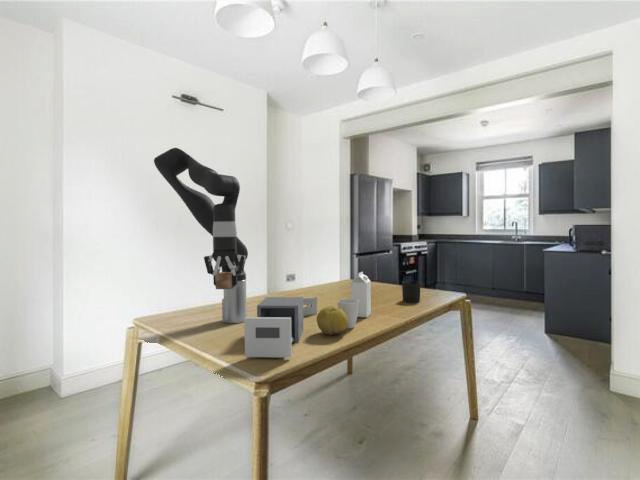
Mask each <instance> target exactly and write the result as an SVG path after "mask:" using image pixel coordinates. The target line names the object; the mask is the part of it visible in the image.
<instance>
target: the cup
mask: <svg viewBox="0 0 640 480" xmlns="http://www.w3.org/2000/svg"><path fill="white" fill-rule="evenodd" d="M337 308H340V309H342V310H343V311H344V313H345V314H346V315H347V317H348V326H347V327H346V329H354V328H355V326H356V323H357V321H358V320H357V319H358V317H357V314H358V300H354V299H351V298H343V299H338V300H337Z"/></svg>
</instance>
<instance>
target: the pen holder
mask: <svg viewBox="0 0 640 480" xmlns="http://www.w3.org/2000/svg"><path fill="white" fill-rule="evenodd" d="M401 291H402V301H403V302H404V303H419V302H420V301H421V281H419V280H411V281H408V282H407V281H404V280H403V281H401Z"/></svg>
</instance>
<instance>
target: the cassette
mask: <svg viewBox="0 0 640 480" xmlns="http://www.w3.org/2000/svg"><path fill="white" fill-rule="evenodd" d="M314 315H318V298H317V296H312V297H303V317H305V316H306V317H307V316H314Z"/></svg>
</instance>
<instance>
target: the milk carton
mask: <svg viewBox="0 0 640 480" xmlns="http://www.w3.org/2000/svg"><path fill="white" fill-rule="evenodd" d="M371 283H372V282H371V279H369V276H367V275H366V274H364V271H361V272H358V275H357V276H356V277H355V278H354V279H352V280H351V282H350V299H354V300H358V314H357V318H369V316H370V315H371V314H372V308H371V307H372V305H371V304H372V303H371V302H372V299H371V298H372V297H371V295H372V294H371V293H372V291H371V290H372V289H371V288H372V287H371V286H372V285H371Z"/></svg>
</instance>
